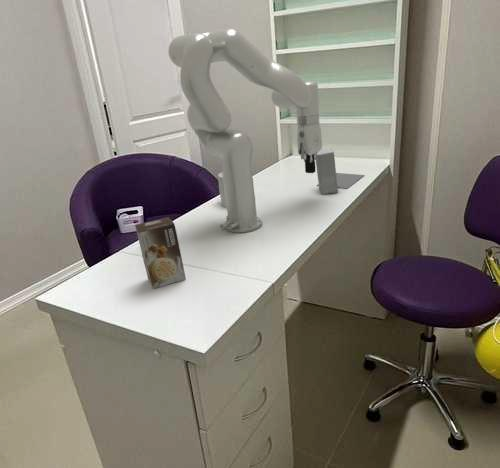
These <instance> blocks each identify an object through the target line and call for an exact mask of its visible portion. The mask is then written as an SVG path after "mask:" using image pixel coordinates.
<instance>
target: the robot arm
mask: <svg viewBox="0 0 500 468" xmlns="http://www.w3.org/2000/svg"><path fill="white" fill-rule="evenodd" d="M168 56H169V58H170V61H171V62H172V64H174V65H175V66H176V67H179V68H180V73H179V77H180V78H179V79H180V81H179V82H180V87H181V90H182V92H183V94H184V96H185V98H186V99H187V102H188V103H189V105H188V107H187V113H186V116H187V121H188V123H189V125H190V128H191V129H192V130H193V132H194V134H195V135H196V136H197V139H199V141H200V142H201V143H202V145H203V146H204V147H205V149H206V151H208V152H209V153H210V154H211V155H213V156H215V157H217V158H221V159H223V164H222V171H221V172H222V177H223V184H224V192H225V199H226V207H225V208H226V212H227V214H226V215H227V216H226V220H225V222H223V223H221V224H220V225H219V228H220V229H221V231H224V230H226V231H228V232H230V233H237V234H238V233H249V232H252V231H255V230H257V229H259V228H260V227H261V226H262V225H263V220H262V218H261V217H259V216H258V214H257V207H256V206H257V205H256V196H255V195H256V194H255V188H254V187H255V186H254V179H253V165H252V163H253V161H252V160H253V142H252V139H251V137H250V136H249V135H248V134H247V133H246V132H245V131H244V130H239V129H236V128H229V127H230V126H231V124H232V114H231V112H230V110H229V108H228V106H227V105H226V103H225V101H224V100H223V98H222V96H221V95H220V94H219V92H218V90H217V88H216V87H215V85H214V83H213V81H212V77H211V71H210V70H211V65H212V63H217V62H218V63H219V62H226V63H228V64H229V65H230V66H231V67H232V68H233V69H235V70H236V71H237V72H238V73H240V74H241V75H242V76H243V77H244V78H245V79H246V80H248V81H249V82H250V83H253V84H255V85H258V86H261V87H263V88H267V89H270V90H272V91H271V96H270V97H271V101H272V103H273V104H274V106H276V107H278V108H281V109H291V110H296V111H295V112H296V125H297V136H296V137H297V142H296V143H297V153H298V155H299V156H300V160H303V162H304V168H305V170H304V171H305V173H306V174H314V173H316V154H317V152H319V151H320V150H321V149H323V139H322V130H321V124H320V104H319V103H320V102H319V85H318V82H317V81H313V80H306V81H304V80H303V79H302V78H301V77H300V76H299V75H298V74H297V73H295V72H294V71H292V70H291V69H289V68H287V67H285V66H284V65H281V64H280V63H279V62H276V61H275V60H273V59H271V58H269V57H267V56H266V55H265V54H264V53H263V52H262V50H261V51H260V49H258V47H256V46H255V45H254V43H252V42H251V40H250V39H248V38H247V37H246V36H245V35H244V34H243V33H242V32H240V31H239V30H237V29H235V28H232V27H231V28H230V27H229V28H222V29H218V30H213V31H208V32H204V33H203V32H202V33H201V32H194V33H193V32H192V33H188V34H187V33H186V34H183V35H177V36H176V37H175V38H174V39H172V40H171V42H170V44H169V47H168Z"/></svg>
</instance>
